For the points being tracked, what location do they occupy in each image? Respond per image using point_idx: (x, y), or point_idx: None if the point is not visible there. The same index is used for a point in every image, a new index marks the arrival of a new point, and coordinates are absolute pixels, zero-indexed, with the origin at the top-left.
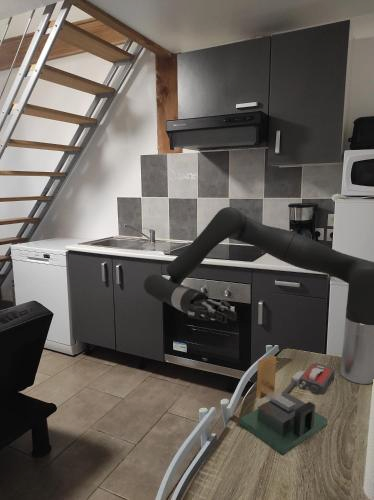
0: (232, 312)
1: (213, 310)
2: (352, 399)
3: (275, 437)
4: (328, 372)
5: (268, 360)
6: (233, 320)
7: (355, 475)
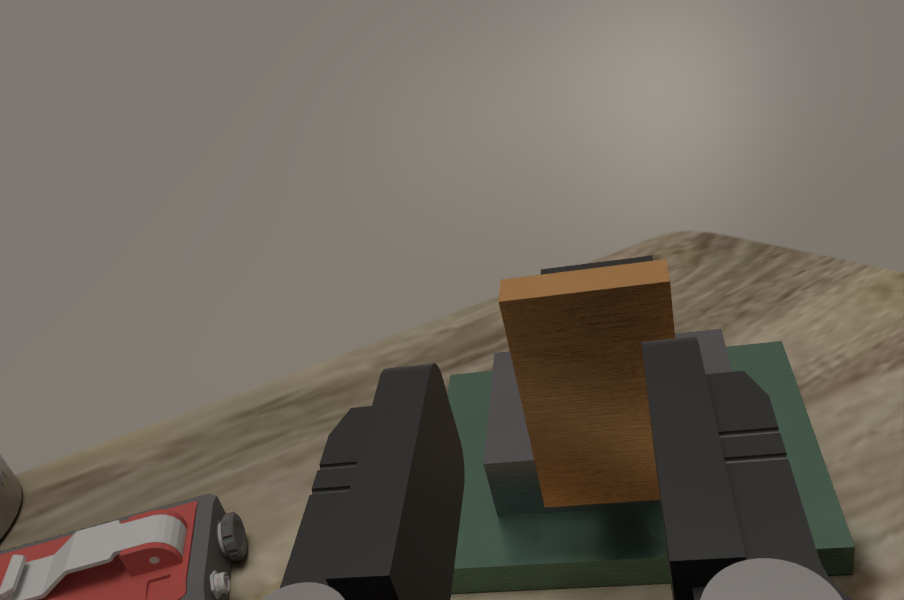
0: (426, 400)
1: (787, 588)
2: (189, 445)
3: (763, 386)
4: (35, 548)
5: (593, 269)
6: (462, 484)
7: (622, 257)
